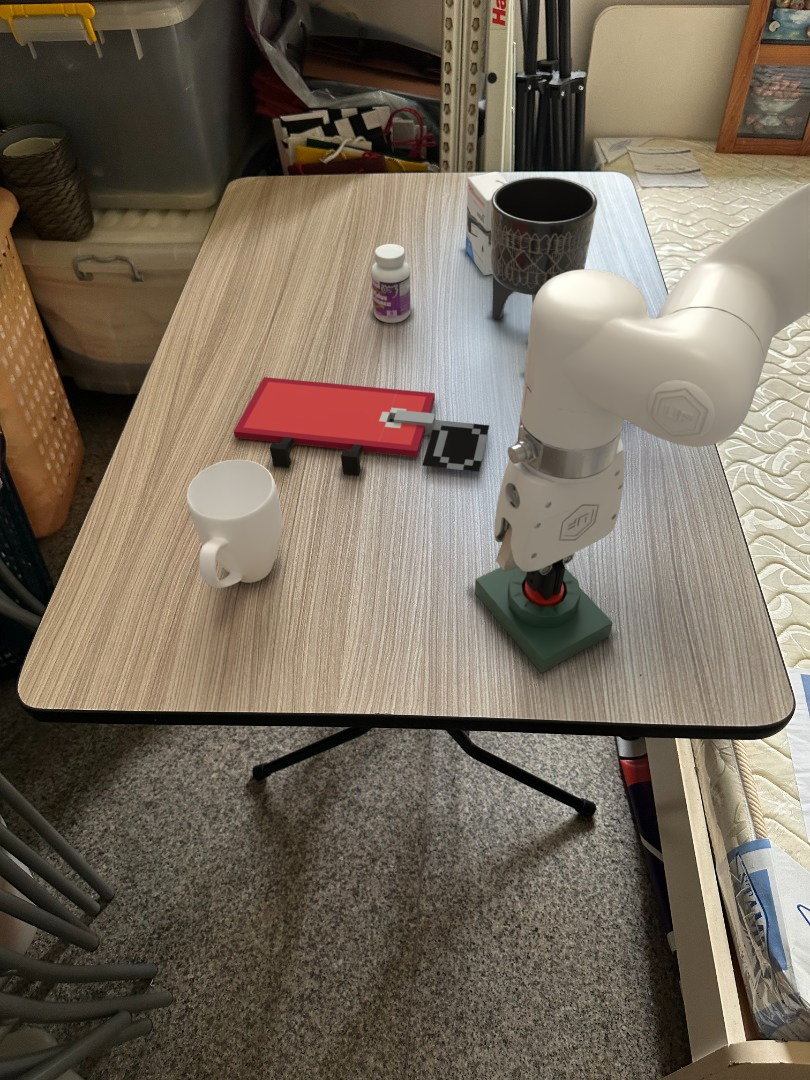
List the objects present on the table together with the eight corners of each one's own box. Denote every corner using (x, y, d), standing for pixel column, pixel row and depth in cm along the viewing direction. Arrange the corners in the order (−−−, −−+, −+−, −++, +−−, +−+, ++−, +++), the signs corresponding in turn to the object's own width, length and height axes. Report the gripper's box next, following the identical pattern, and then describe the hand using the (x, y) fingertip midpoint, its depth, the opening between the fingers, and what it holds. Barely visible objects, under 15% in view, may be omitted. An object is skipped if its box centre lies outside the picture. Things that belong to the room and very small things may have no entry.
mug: (228, 532, 85) (204, 453, 76) (301, 542, 83) (286, 463, 75) (185, 621, 77) (153, 544, 68) (265, 634, 75) (243, 557, 67)
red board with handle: (476, 489, 87) (494, 407, 97) (477, 470, 85) (495, 389, 95) (224, 460, 92) (265, 386, 102) (219, 442, 90) (262, 367, 100)
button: (569, 603, 74) (572, 592, 72) (538, 619, 73) (540, 608, 71) (546, 578, 76) (548, 566, 75) (516, 593, 75) (517, 582, 73)
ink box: (463, 250, 124) (465, 175, 115) (493, 245, 125) (497, 169, 116) (483, 276, 118) (487, 199, 110) (513, 270, 119) (520, 193, 110)
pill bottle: (366, 318, 112) (362, 255, 104) (384, 300, 115) (381, 237, 108) (400, 327, 110) (397, 264, 103) (417, 309, 113) (416, 245, 106)
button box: (609, 636, 74) (616, 610, 71) (541, 673, 72) (545, 649, 69) (539, 560, 81) (543, 534, 78) (474, 592, 78) (475, 567, 75)
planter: (538, 290, 115) (551, 167, 102) (597, 331, 108) (620, 203, 95) (466, 318, 111) (470, 193, 98) (523, 362, 103) (536, 234, 90)
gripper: (516, 503, 55) (499, 650, 68) (677, 429, 59) (631, 581, 73) (458, 442, 59) (453, 592, 73) (612, 378, 64) (580, 530, 78)
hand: (542, 586), depth 73 cm, fingers closed
